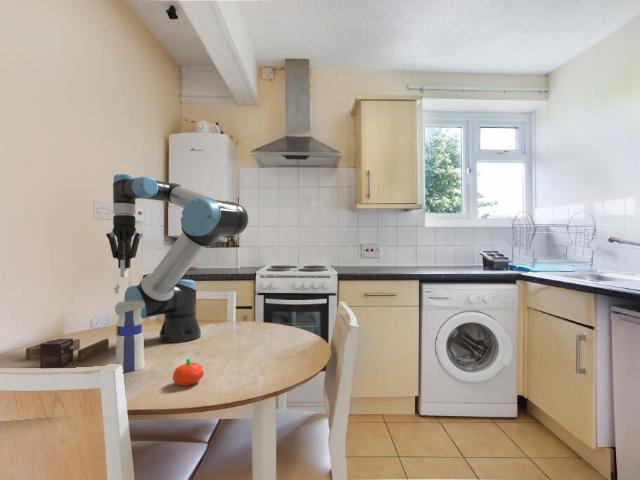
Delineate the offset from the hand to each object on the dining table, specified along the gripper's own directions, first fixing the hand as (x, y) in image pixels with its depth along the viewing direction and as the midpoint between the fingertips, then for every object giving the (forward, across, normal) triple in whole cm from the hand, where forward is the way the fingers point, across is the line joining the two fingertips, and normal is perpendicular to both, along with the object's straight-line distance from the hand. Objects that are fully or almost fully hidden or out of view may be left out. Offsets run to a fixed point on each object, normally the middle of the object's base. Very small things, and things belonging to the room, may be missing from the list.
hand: (124, 276), depth 136 cm
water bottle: (+25, -19, +31) cm, 44 cm away
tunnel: (+24, +9, +18) cm, 32 cm away
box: (+25, +5, +28) cm, 38 cm away
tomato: (+25, -41, +43) cm, 64 cm away
